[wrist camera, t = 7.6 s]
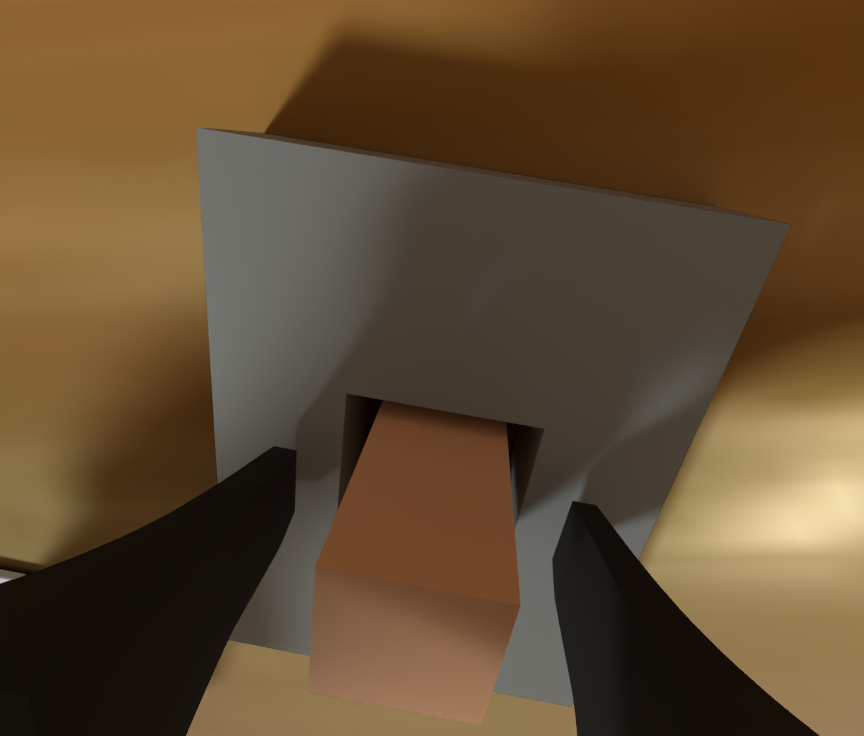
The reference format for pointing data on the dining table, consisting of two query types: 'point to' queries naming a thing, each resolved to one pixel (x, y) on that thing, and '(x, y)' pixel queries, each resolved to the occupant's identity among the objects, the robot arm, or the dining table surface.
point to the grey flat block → (462, 343)
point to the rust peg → (419, 568)
